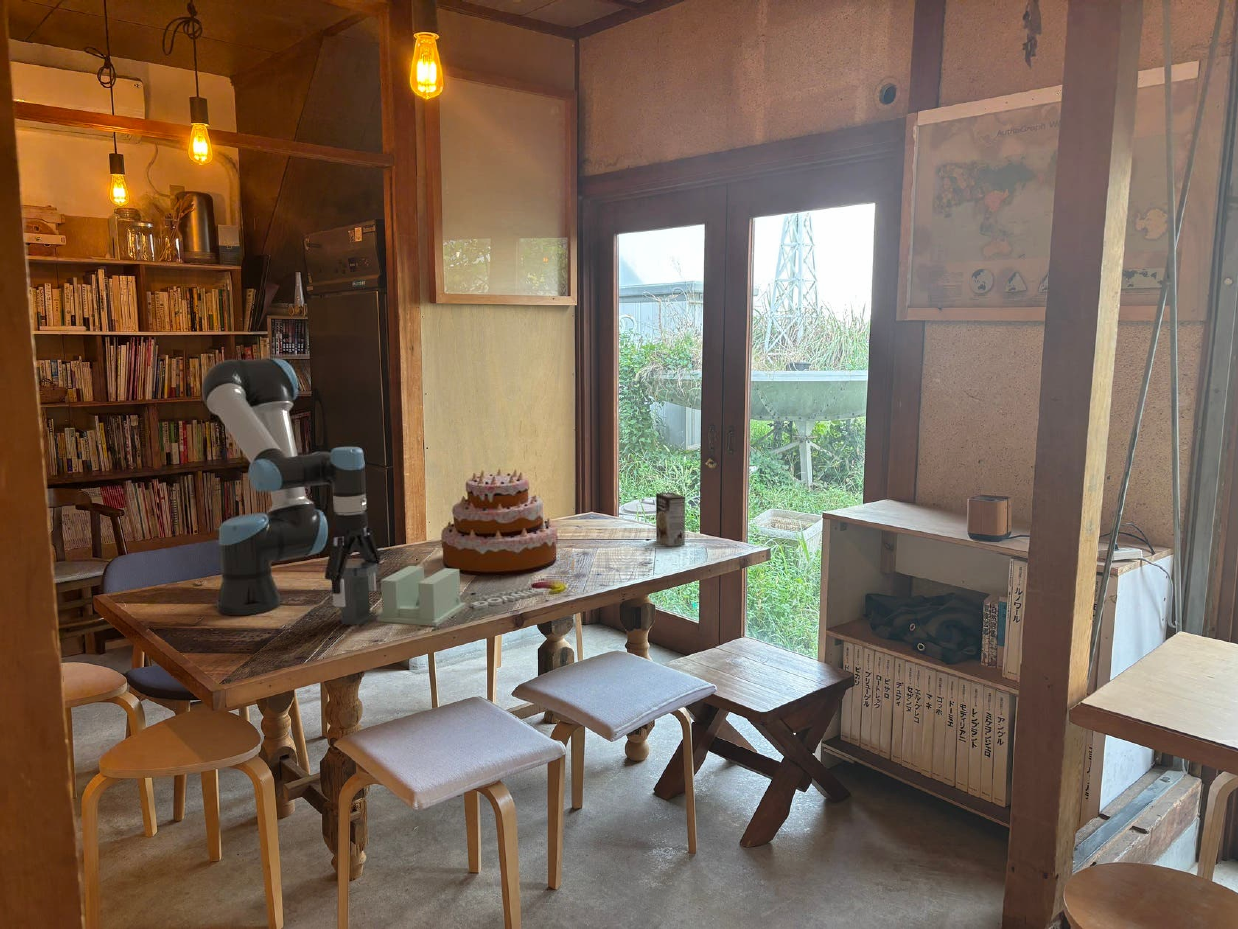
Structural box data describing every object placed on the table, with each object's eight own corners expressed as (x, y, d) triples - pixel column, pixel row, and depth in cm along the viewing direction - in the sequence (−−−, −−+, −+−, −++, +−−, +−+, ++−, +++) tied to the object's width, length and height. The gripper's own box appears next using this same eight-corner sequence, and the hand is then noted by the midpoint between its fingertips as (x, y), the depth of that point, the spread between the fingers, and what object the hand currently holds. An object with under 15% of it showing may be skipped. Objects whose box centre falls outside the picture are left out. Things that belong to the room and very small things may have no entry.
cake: (573, 569, 265) (571, 476, 261) (454, 582, 252) (450, 484, 248) (539, 544, 297) (537, 460, 293) (432, 554, 284) (429, 467, 280)
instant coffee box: (655, 541, 299) (655, 493, 297) (672, 539, 302) (672, 491, 300) (668, 546, 291) (668, 497, 289) (685, 544, 294) (685, 496, 291)
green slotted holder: (376, 621, 218) (374, 581, 217) (409, 602, 233) (407, 564, 232) (436, 626, 214) (434, 585, 212) (465, 606, 229) (464, 568, 228)
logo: (551, 579, 251) (572, 586, 243) (551, 583, 251) (572, 590, 244) (458, 599, 232) (478, 608, 225) (458, 603, 233) (478, 612, 225)
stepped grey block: (342, 624, 216) (339, 567, 214) (355, 616, 222) (353, 561, 220) (367, 626, 214) (365, 569, 212) (381, 618, 220) (378, 562, 218)
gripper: (334, 523, 202) (339, 614, 205) (391, 503, 226) (395, 585, 229) (305, 521, 204) (311, 612, 207) (365, 502, 228) (369, 583, 231)
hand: (355, 598), depth 218 cm, fingers open, 13 cm apart
